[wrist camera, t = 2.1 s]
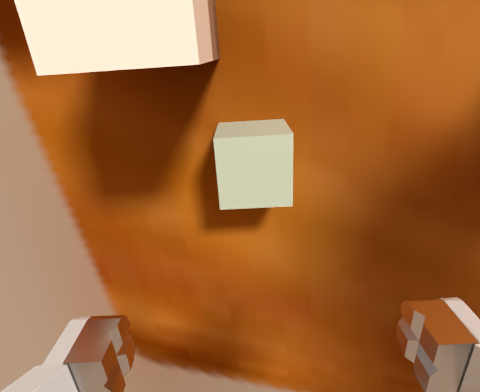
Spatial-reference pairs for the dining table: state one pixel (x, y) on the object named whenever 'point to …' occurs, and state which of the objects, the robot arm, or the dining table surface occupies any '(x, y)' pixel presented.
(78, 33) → the block top
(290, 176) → the block small
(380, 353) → the dining table surface
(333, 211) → the dining table surface
